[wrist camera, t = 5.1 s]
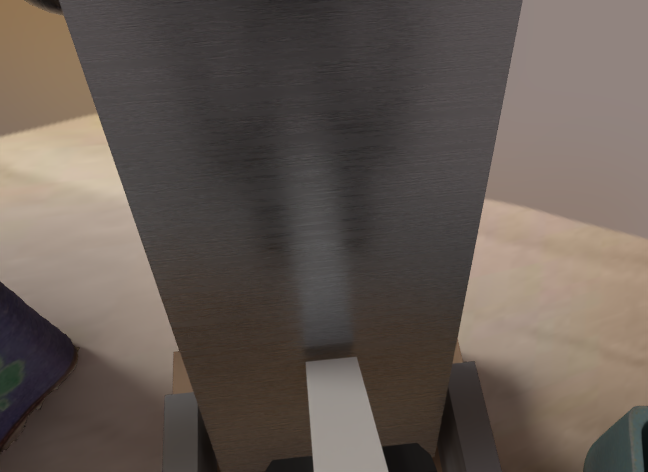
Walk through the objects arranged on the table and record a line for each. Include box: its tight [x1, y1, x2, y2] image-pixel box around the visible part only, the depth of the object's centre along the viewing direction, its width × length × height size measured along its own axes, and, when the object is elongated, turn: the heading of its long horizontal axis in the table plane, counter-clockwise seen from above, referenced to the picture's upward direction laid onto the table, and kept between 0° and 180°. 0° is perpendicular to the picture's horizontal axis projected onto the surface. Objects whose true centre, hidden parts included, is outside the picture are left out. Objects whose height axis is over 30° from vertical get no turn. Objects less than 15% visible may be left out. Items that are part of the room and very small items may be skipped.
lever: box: [25, 0, 522, 472], centre depth 16 cm, size 3×11×21 cm, turn 97°
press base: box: [162, 339, 502, 472], centre depth 23 cm, size 10×13×8 cm
